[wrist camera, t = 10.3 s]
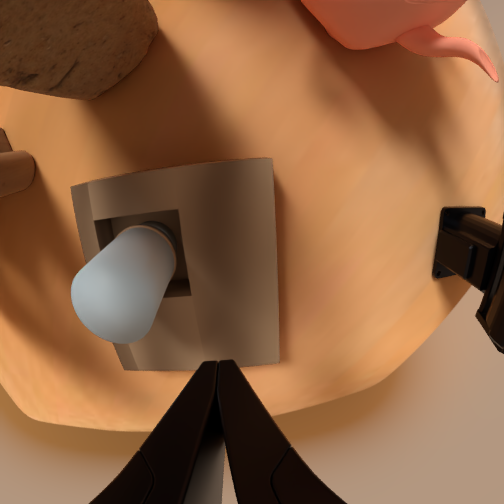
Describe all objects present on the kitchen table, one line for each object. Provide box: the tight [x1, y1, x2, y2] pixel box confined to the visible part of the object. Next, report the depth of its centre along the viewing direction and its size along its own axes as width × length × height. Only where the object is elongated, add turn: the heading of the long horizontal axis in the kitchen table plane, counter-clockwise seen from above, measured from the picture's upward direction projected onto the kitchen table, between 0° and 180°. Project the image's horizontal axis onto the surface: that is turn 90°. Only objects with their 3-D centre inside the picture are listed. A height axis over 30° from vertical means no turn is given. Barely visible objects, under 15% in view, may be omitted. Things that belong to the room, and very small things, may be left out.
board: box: [71, 158, 280, 371], centre depth 18 cm, size 12×14×3 cm
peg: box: [71, 221, 177, 344], centre depth 14 cm, size 4×4×8 cm
